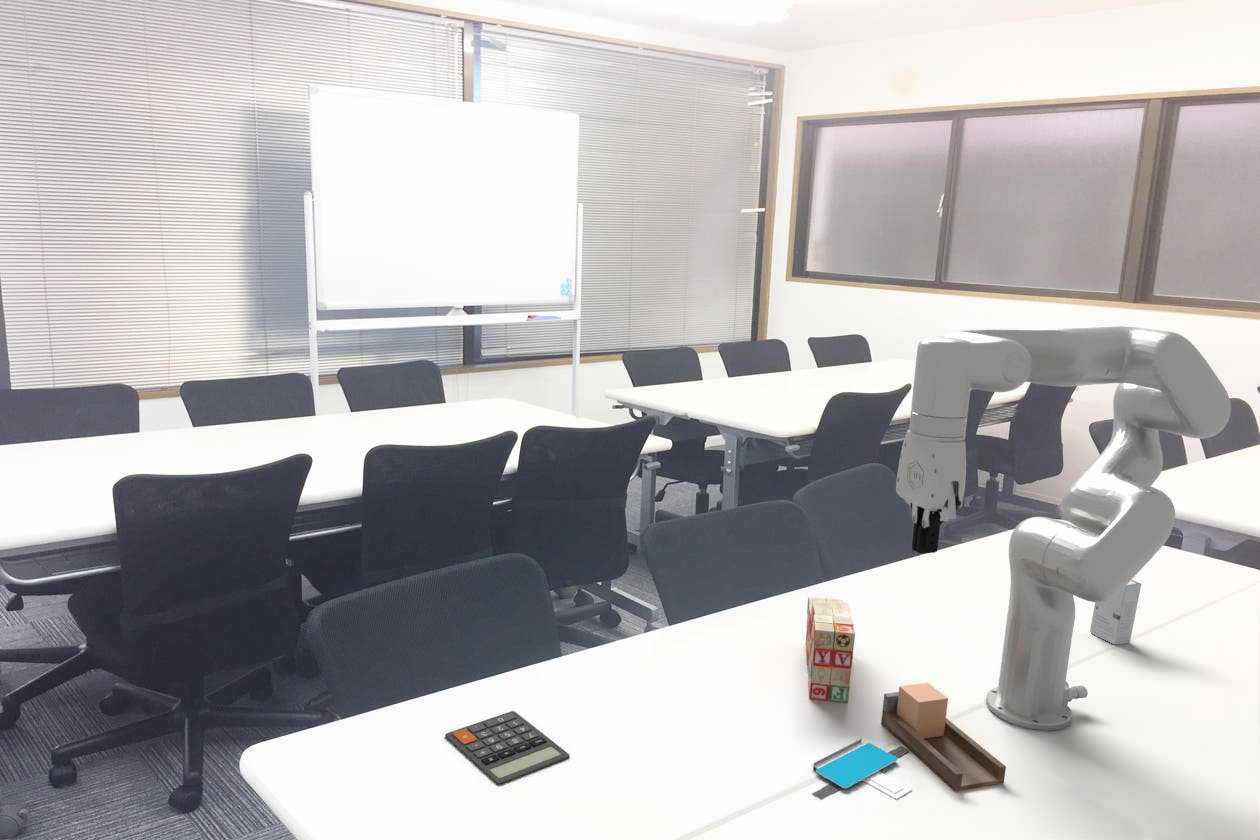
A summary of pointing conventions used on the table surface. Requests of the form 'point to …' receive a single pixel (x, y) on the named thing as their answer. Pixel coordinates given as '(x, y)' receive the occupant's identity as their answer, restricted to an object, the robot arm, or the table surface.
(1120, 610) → the skincare box
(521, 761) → the calculator
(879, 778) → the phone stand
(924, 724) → the block
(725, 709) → the table surface
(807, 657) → the stack of blocks
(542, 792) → the table surface
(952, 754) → the chute
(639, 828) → the table surface
